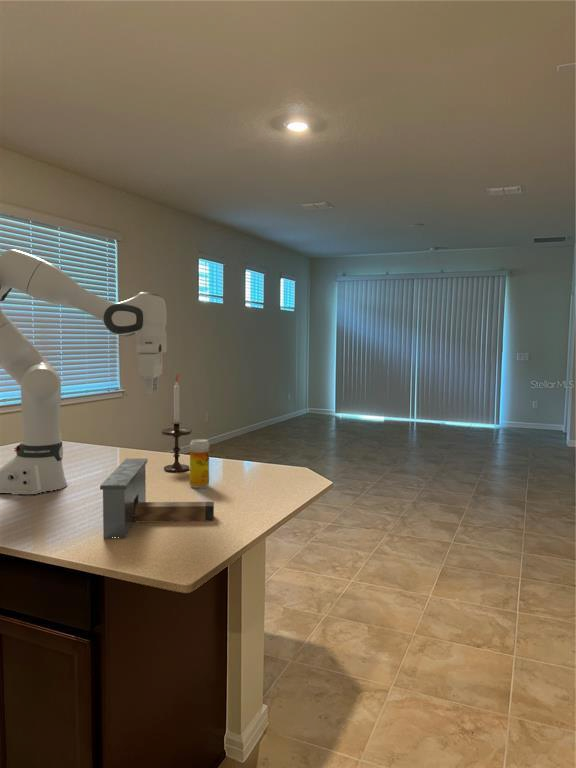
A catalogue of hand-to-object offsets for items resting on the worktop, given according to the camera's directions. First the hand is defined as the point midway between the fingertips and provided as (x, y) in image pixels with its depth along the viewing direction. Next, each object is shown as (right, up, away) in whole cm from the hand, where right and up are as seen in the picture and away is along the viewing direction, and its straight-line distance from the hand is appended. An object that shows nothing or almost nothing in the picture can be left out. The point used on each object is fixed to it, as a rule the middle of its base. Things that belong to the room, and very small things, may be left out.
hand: (152, 391), depth 167 cm
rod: (+12, -33, -22) cm, 42 cm away
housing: (-1, -33, -23) cm, 41 cm away
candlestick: (+1, -29, +32) cm, 43 cm away
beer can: (+13, -31, +10) cm, 35 cm away
